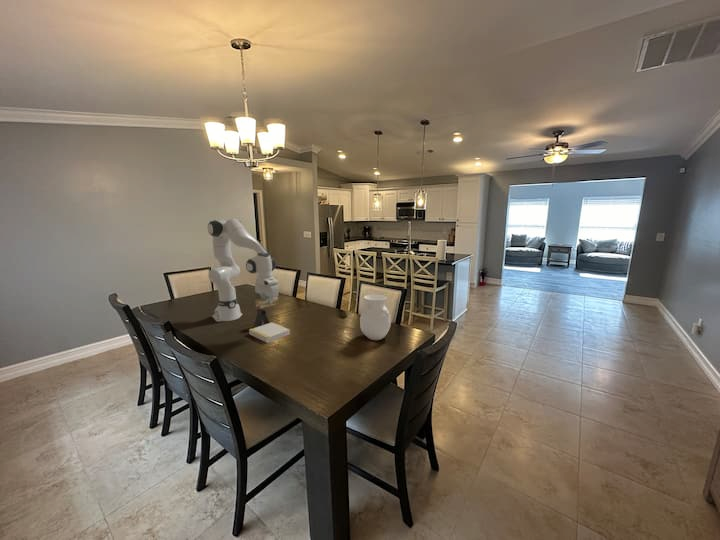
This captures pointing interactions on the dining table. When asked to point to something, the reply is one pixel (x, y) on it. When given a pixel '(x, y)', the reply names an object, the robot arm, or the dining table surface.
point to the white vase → (375, 317)
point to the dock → (269, 332)
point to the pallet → (266, 302)
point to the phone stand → (261, 318)
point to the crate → (265, 297)
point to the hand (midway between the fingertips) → (267, 302)
